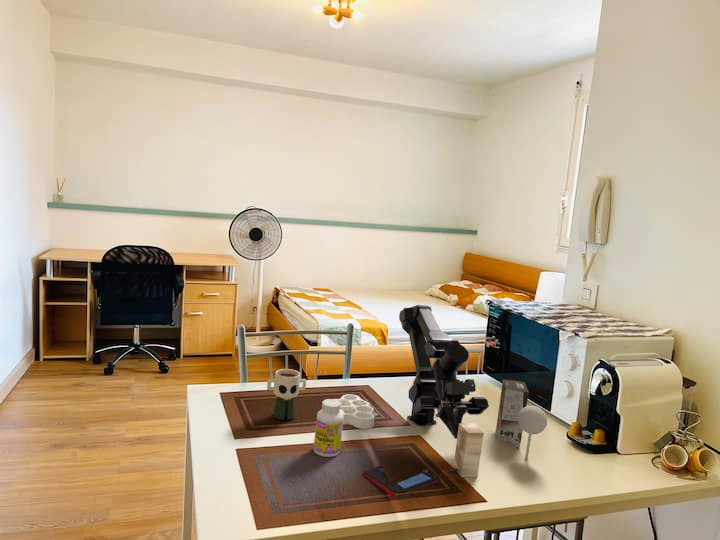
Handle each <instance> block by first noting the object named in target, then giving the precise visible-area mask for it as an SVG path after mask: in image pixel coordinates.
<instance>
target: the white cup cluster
mask: <svg viewBox="0 0 720 540" xmlns="http://www.w3.org/2000/svg"><path fill="white" fill-rule="evenodd" d="M333 399H334V400H338V401H340V402H341V409H340V412H341V413H342V414H343V417H344V419H343V426H344V425H349V426H350V425H351V426H353V427H355V428H358V429H361V430H369V429H372V428H374V427H375V419H376V418H375V417H377V416H379V414H378V413H377V412H375V411H374V409H375V408H374V407H372V406H371V405H370V404H371V403H369V402H368V401H366V400H364V399H362V398H361V397H360V396H359V395H356V394H352V393H351V394H347V393H346V394H344V395H342V396H341V397H340V398H333Z"/></svg>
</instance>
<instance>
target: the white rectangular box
mask: <svg viewBox="0 0 720 540" xmlns="http://www.w3.org/2000/svg"><path fill="white" fill-rule="evenodd" d="M484 433H485V432H484V431H483V430H482V429H481V428H480V427H479V426H478V425H477V424H476V423H474V422H471V423H469V422H466V423H459V429H458V436H457V439H456V444H455V451H454V459H453V468H449V472H457V473H458V474H459V476H460V477H461V478H478V475H479V468H480V462H481V455H482V447H483V441H484Z"/></svg>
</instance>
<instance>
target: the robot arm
mask: <svg viewBox="0 0 720 540" xmlns="http://www.w3.org/2000/svg"><path fill="white" fill-rule="evenodd" d="M432 311H433V310H432V307H431V306H429V305H421V304H416V305H414V306H410V307H403V309H402V310H400V311H399V317H398V319H399V322H400V323H401V327H402V329H403V331H405V332H406V333H407V334H408V335H409V337H408V338H409V342H410V346H411V351H412V357H413V362H414V366H415V371H416V376H415V378H414V380H413V382H412V385H411V387H410V388H409V389H408V399H409V400H410V402H411V403H412V407H411V414H410V415H407V416H406V418H407V419H408V420H410V421H411V422H413V423H414V424H416V425H417V426H420V427H424V426H425V427H426V426H429V425H434V424H437V420H435V418H439V419H440V420H441V422H442V423H443V424H444V425H445V427H446V428H447V429H448V431H449V432H450V434H451V435H452V436H453V438H454V439H455V440H457V436H458V429H459V423H462V421H463V417H464V416H465V414H468V415H470V416H472V415H473V416H475V415H477V416H478V415H481V414H483V413H484V412H485V411H486V410H487V409H488V408H489V406H490V405H489V401H488V399H487V398H486V397H485V396H472V397H471V398H470V399H469V400H468V401H467V400H466V401H464V399H465V398H466V396H471V395H470V393H474V392H476V388H477V387H476V383H475V380H474V379H473V378H467V379H464V381H463V382H460V381H461V380H460V379H458V378H457V372H458V371H459V370H460V369H461V368H462V367H463V366H464V365H465V363H466V362H467V361H468V360H469V355H470V353H469V351H468V349H467V348H466V347H465V346H464V345H462V344H460V342H459V340H458V339H457V340H456V339H452V338H451V336H449V334H448V333H445V332H443V331H442V330H441V328H440V326H439V324H438V322H437V320H436V319H435V316H434V314H433V312H432ZM431 359H436V360H435V361H434V363H433V364H432V361H431ZM462 400H463V401H462ZM436 412H437V413H436Z"/></svg>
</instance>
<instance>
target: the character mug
mask: <svg viewBox="0 0 720 540" xmlns="http://www.w3.org/2000/svg"><path fill="white" fill-rule="evenodd" d="M272 383H273V386H272ZM300 383H302V386H300V385H301V384H300ZM266 386H267V387H266V389H267V390H268V391H273V394H274V395H275V397H276V399H275V403H274V408H273V412H272V415H273V416H274V418H275V419H277V420H281V421H282V420H283V421H284V420H285V418H287V420H292V419H294V418H295V417H296V399H295V398H296V397H297V396H298V395H299V393H300V392H299V391H305V390H306V388H307V379H306V378H301V372H299V371H298V370H295V369H290V368H282V369H278V370H276V371H275V374H274V378H269V379H268V380H267V383H266Z"/></svg>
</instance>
